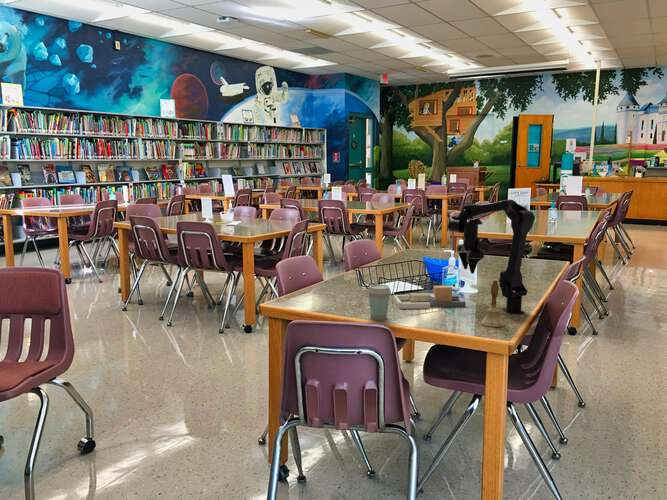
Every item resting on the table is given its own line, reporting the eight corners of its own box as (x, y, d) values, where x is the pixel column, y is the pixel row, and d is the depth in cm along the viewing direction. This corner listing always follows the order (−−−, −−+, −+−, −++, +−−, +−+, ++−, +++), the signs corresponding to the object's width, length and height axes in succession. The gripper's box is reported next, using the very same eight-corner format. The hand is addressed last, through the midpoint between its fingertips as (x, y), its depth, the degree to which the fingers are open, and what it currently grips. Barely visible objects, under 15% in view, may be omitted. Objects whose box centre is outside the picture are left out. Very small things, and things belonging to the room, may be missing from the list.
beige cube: (430, 305, 237) (431, 295, 236) (420, 305, 237) (421, 295, 236) (428, 302, 241) (428, 293, 240) (418, 302, 240) (419, 293, 240)
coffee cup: (388, 314, 222) (389, 284, 220) (391, 321, 213) (392, 289, 211) (366, 314, 221) (366, 284, 219) (368, 321, 213) (368, 289, 211)
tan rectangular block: (452, 305, 237) (453, 288, 235) (431, 305, 236) (431, 288, 235) (448, 301, 242) (449, 285, 241) (427, 301, 242) (428, 285, 241)
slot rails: (465, 306, 234) (465, 302, 234) (428, 307, 233) (428, 302, 233) (457, 299, 245) (457, 295, 245) (422, 300, 244) (422, 296, 244)
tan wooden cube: (420, 305, 237) (421, 295, 236) (411, 305, 236) (411, 295, 236) (418, 302, 241) (419, 293, 240) (409, 302, 240) (409, 293, 240)
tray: (429, 308, 232) (429, 303, 231) (399, 308, 231) (399, 303, 230) (421, 299, 246) (421, 294, 245) (393, 299, 245) (393, 294, 244)
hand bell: (486, 319, 216) (488, 277, 214) (508, 323, 211) (510, 280, 208) (476, 324, 210) (478, 281, 207) (498, 328, 205) (501, 284, 202)
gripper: (497, 237, 233) (495, 275, 236) (482, 231, 251) (480, 266, 254) (470, 237, 232) (468, 276, 235) (456, 231, 251) (455, 267, 253)
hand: (468, 271), depth 244 cm, fingers open, 9 cm apart
